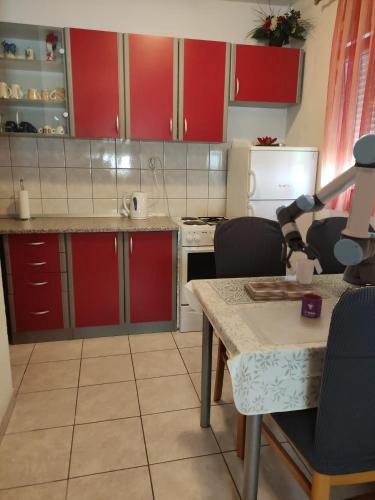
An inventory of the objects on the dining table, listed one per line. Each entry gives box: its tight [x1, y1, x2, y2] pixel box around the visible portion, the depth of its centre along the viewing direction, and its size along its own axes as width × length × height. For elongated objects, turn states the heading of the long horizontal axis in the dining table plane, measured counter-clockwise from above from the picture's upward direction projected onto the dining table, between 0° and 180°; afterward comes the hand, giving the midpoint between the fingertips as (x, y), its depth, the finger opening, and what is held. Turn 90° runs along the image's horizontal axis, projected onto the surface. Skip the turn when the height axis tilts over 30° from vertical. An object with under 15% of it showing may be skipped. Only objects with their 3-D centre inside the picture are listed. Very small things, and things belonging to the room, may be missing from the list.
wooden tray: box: [243, 279, 314, 301], centre depth 152 cm, size 24×17×3 cm
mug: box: [300, 292, 323, 319], centre depth 130 cm, size 7×10×7 cm
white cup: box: [295, 258, 315, 285], centre depth 165 cm, size 8×8×10 cm
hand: (307, 273), depth 163 cm, fingers open, 13 cm apart
